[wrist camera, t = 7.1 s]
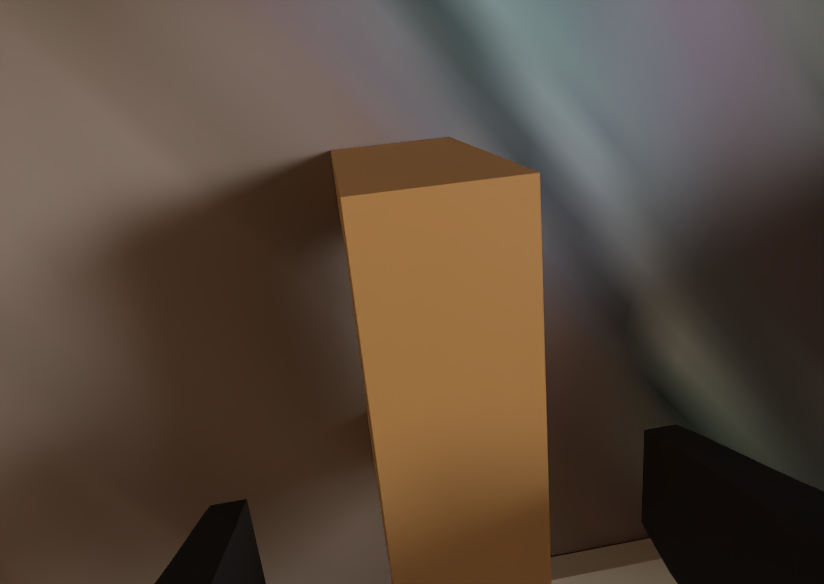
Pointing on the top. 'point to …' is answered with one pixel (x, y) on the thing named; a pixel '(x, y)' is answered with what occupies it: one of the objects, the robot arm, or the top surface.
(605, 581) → the stand
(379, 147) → the block
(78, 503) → the top surface
